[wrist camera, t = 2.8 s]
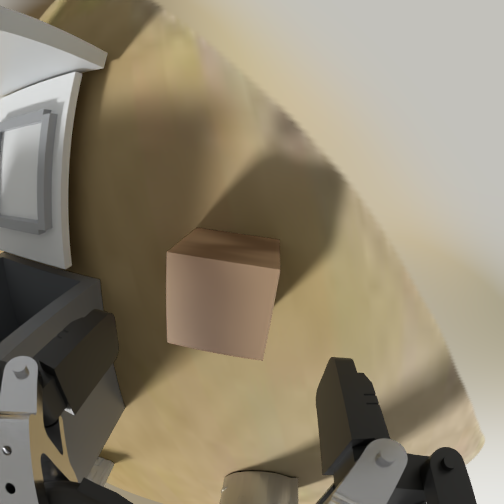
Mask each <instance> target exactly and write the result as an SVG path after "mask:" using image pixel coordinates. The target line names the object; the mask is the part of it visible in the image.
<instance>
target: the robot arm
mask: <svg viewBox="0 0 504 504" xmlns="http://www.w3.org/2000/svg"><path fill="white" fill-rule="evenodd" d="M118 351H119V344H118V338H117V331H116V323H115V317H114V315H113V314H112V313H109V312H105V311H102V310H99V309H93V310H92V311H91V312H90V313H89V314H87V315H86V316H85V317H84V318H83V317H81V318H79V319H77V320H75V321H72V322H71V323H70V324H68V325H67V326H66V327H65V328H64V329H63V331H61V332H59V333H58V334H57V336H56V337H54V338H53V339H52V340H51V341H50V342H49V343H48V344H46V345H45V346H44V347H43V348H42V349H41V350H40V351H39V352H38V353H37V354H36V355H35V356H34V357H33V358H31V357H28V356H18V357H15V358H13V359H11V360H10V361H9V362H5V361H1V360H0V504H133V503H131V502H130V501H128V500H127V499H125V498H124V497H122V496H121V495H119V494H118V493H116V492H114V491H111V490H109V489H107V488H105V487H103V486H101V485H98V484H96V483H94V482H92V481H90V480H88V479H87V478H85V477H84V478H83V480H82V481H81V483H78V480H77V478H76V475H75V472H74V470H73V468H72V466H71V464H70V462H69V458H68V453H67V447H66V441H65V435H64V427H63V419H62V416H61V414H62V412H63V411H64V410H65V411H67V412H69V413H71V414H73V415H76V413H77V412H78V410H79V409H80V408H81V406H82V405H83V403H84V402H85V401H86V399H87V398H88V396H89V395H90V394H91V392H92V391H93V389H94V388H95V387H96V385H97V384H98V383H99V381H100V380H101V379H102V377H103V376H104V374H105V373H106V372H107V370H108V369H109V368H110V366H111V365H112V364H113V362H114V361H115V360H116V358H117V355H118ZM375 394H376V393H375V391H374V388H373V385H372V382H371V381H370V380H369V379H368V378H367V377H366V376H365V374H364V373H357V371H356V368H355V364H354V361H353V360H352V359H351V358H338V357H331V358H330V360H329V362H328V364H327V366H326V369H325V371H324V374H323V376H322V379H321V381H320V383H319V386H318V389H317V393H316V408H317V417H318V427H319V437H320V449H321V461H322V474H323V475H334V483H333V484H332V485H331V486H330V487H329V489H328V490H327V491H326V492H325V493H324V495H323V496H322V497H321V498H320V499H319V500H318V502H317V503H316V504H426V502H427V504H477V503H476V500H475V496H474V492H473V489H472V486H471V482H470V479H469V476H468V473H467V470H466V467H465V464H464V461H463V458H462V456H461V455H460V454H459V453H458V452H457V451H456V450H454V449H452V448H449V447H443V448H439V449H437V450H436V451H435V452H434V453H433V454H432V455H431V456H421V455H413V454H408V453H406V451H405V449H404V447H403V446H402V445H401V444H399V443H398V442H396V441H394V440H392V439H390V437H389V434H388V430H387V427H386V424H385V421H384V418H383V415H382V411H381V408H380V405H378V403H379V402H378V399H377V396H375ZM220 504H298V478H290V477H287V476H284V475H281V474H277V473H271V472H261V471H246V472H237V473H233V474H230V475H228V476H226V477H225V479H224V483H223V488H222V492H221V499H220Z"/></svg>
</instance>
